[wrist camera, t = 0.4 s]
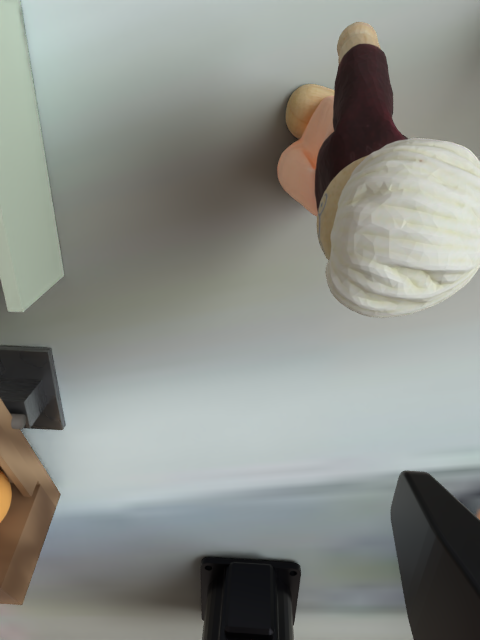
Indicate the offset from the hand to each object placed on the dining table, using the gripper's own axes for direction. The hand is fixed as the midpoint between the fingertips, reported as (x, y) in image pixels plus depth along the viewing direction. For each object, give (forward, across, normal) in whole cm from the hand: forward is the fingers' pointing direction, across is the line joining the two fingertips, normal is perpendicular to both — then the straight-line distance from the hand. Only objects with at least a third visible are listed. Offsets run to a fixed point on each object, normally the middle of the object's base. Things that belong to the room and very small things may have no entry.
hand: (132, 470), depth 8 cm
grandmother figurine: (+14, -4, -4) cm, 15 cm away
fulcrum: (+14, +11, +8) cm, 20 cm away
